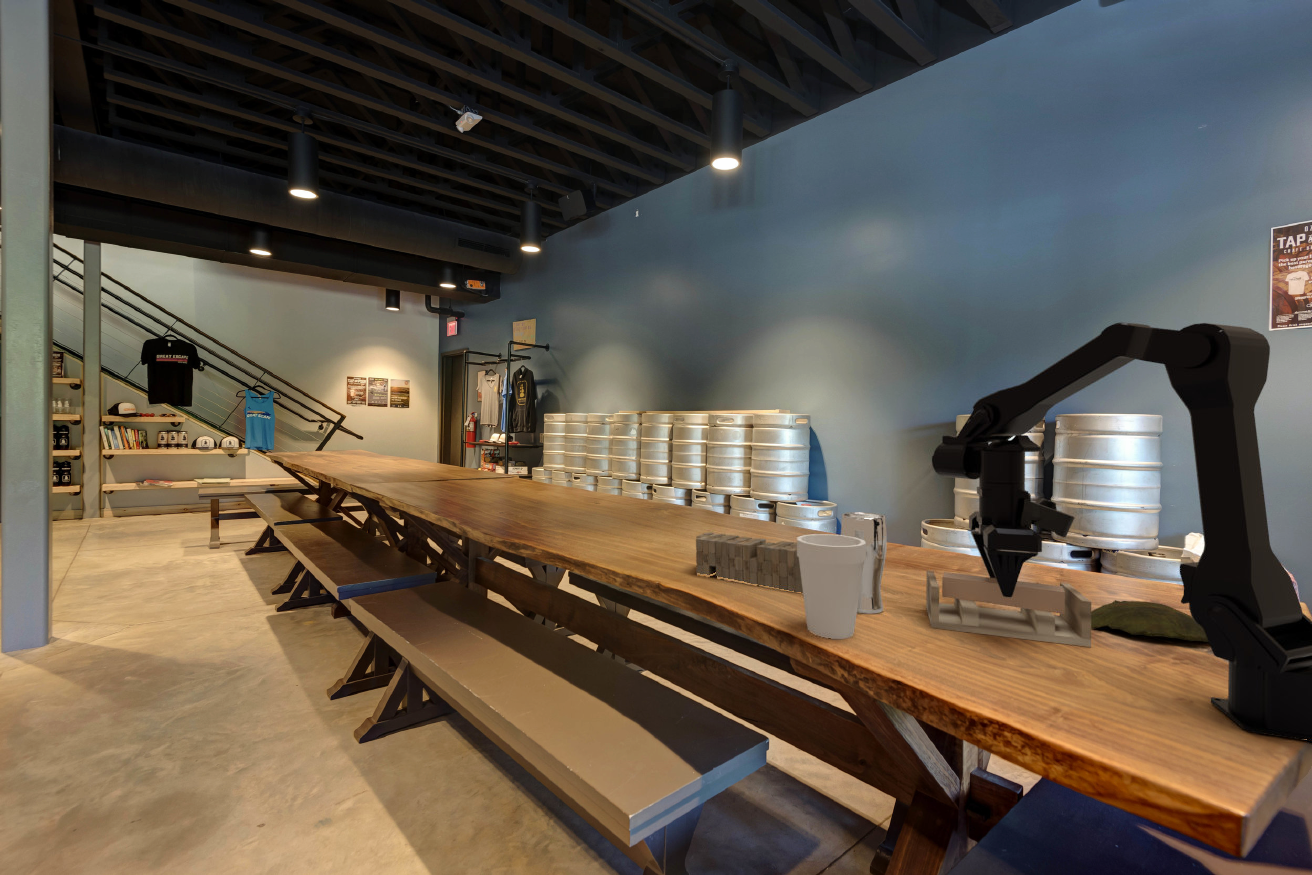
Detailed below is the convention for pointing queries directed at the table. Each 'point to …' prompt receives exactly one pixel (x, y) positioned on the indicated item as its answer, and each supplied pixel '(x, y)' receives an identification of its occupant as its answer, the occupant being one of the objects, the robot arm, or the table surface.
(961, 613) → the drying rack
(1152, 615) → the pottery fragment
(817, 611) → the foam cup
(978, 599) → the clay strip
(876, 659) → the table surface
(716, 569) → the block tower
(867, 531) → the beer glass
